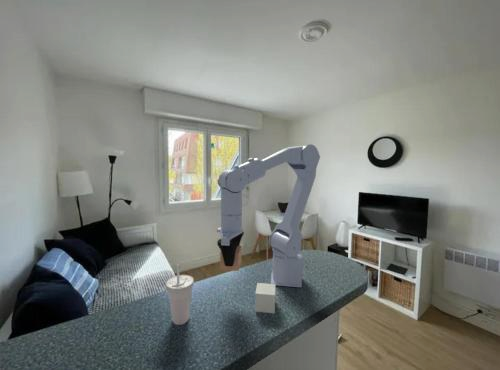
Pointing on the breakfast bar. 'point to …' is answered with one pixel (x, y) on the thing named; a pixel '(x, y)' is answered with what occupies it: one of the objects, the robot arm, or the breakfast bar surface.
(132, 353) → the breakfast bar surface
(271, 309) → the offwhite cube
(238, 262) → the terracotta cube
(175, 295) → the white cup with straw
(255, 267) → the breakfast bar surface
